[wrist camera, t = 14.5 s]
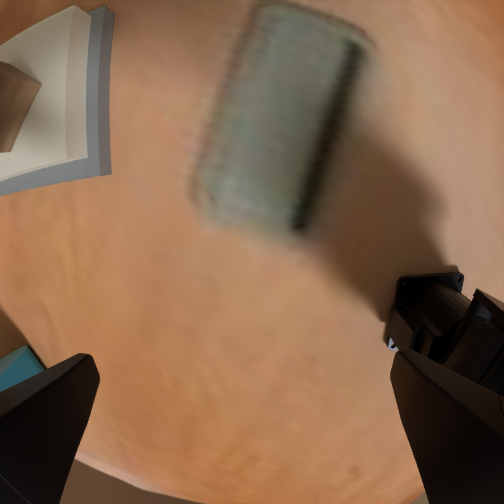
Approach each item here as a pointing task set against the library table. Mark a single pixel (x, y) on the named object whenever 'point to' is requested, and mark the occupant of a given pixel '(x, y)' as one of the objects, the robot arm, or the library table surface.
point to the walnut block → (14, 102)
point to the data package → (18, 367)
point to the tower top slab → (51, 92)
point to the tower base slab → (95, 116)
